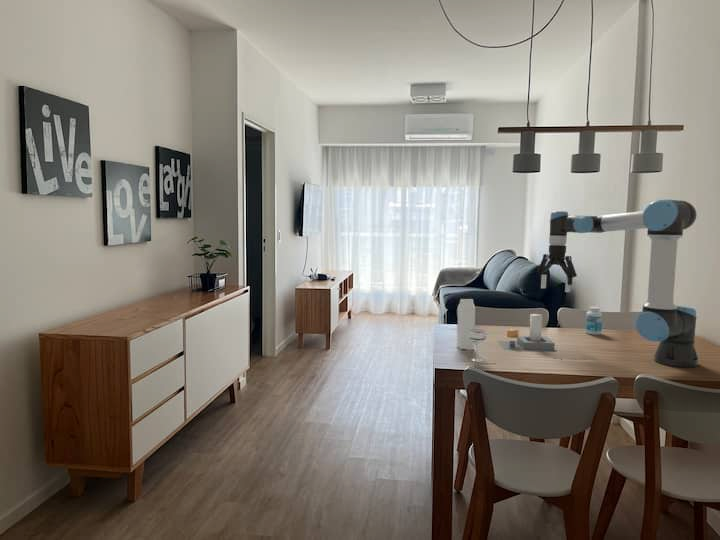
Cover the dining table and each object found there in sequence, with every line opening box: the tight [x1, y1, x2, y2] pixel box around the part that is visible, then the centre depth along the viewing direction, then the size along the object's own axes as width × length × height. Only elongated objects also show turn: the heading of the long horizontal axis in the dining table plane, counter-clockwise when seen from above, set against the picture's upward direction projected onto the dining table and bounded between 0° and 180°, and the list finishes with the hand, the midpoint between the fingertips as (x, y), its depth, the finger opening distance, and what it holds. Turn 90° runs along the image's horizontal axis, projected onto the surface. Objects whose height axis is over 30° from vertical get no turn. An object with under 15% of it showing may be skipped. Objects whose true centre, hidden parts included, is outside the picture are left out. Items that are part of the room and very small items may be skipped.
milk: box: [456, 298, 476, 351], centre depth 228 cm, size 6×6×22 cm
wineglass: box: [469, 328, 487, 363], centre depth 209 cm, size 7×7×12 cm
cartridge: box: [528, 313, 543, 342], centre depth 229 cm, size 5×5×14 cm
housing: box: [497, 335, 557, 352], centre depth 230 cm, size 16×22×4 cm
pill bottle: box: [584, 306, 603, 336], centre depth 261 cm, size 8×7×14 cm
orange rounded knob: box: [506, 328, 519, 339], centre depth 230 cm, size 5×5×3 cm
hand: (555, 290), depth 242 cm, fingers open, 13 cm apart
